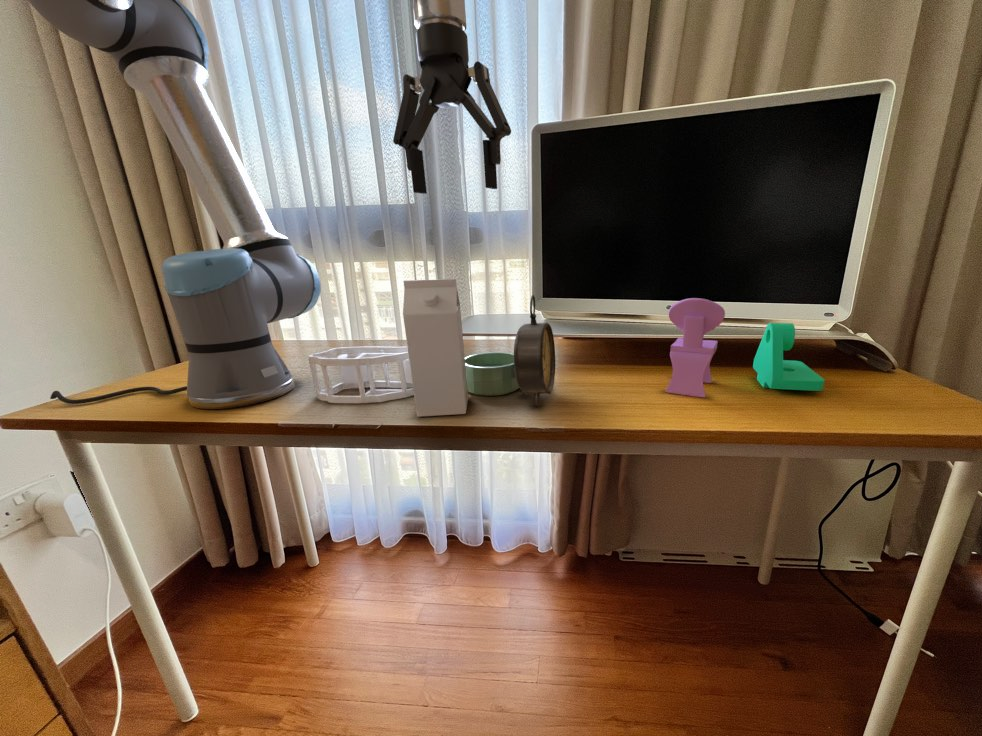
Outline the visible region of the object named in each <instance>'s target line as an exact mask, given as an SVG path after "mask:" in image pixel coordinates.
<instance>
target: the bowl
mask: <svg viewBox="0 0 982 736" xmlns="http://www.w3.org/2000/svg"><path fill="white" fill-rule="evenodd" d="M513 364H514V352H513V353H512V352H505V351H488V352H480V353H474V354H470V355H468V356H465V366H466V378H467V389H468V393H471V394H473V395H477V396H483V397H484V396H485V397H494V396H503V395H508V394H511V393H513V392H515V391H517V390H518V389H520V387H519V385H518V383H517V379H516V375H515V369H514V367H513Z"/></svg>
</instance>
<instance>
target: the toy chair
mask: <svg viewBox="0 0 982 736" xmlns="http://www.w3.org/2000/svg"><path fill="white" fill-rule="evenodd" d="M725 316H726V311H725V309H724V307H723V306H722V305H720V304H718V302H715V301H712V300H709V299H706V298H699V297H691V298H685V299H681V300H679V301H677V302H675V303H673V304H671V306H670V308H669V309H668V318H669V320H670V322H671V323H672V324H673V325H675V326H676V328H678V329H679V330H681V331H682V333H683V336H682V337H677V339H676V340H675V341H674V342H673V343H672V344H671V345H670V352H669V357H670V361H671V367H672V375H671V379H670V381H669V383H668V385H667V387H666V389H665V393H668V394H675V395H684V396H691V397H696V398H697V397H698V398H706V396H707V395H706V390H705V387H704V383H706V384H707V383H708V384H712V383H713V379H712V375H711V369H710V368H711V367H710V366H711V365H710V364H711V361H712V359H713V357H714V355H715V353H716V352H717V349H718V340H711V339H704V337H705V335H706V334H707V333H709V332H711V331H714V330H715V329H716V328H717V327H719V326H720V325H721V324H722V323H723V321H724V319H725Z"/></svg>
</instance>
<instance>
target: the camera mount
mask: <svg viewBox="0 0 982 736" xmlns="http://www.w3.org/2000/svg"><path fill="white" fill-rule="evenodd" d="M795 338H796V328H795V324H794V323H791V322H789V323H788V322H768V323H767V325H766V326H765V330H764V333H763V335H762V338H761V340H760V343H759V346H758V348H757V350H756V353H755V356H754V357H753V364H752V368H753V370H754V371H755V372H756V373H757V375H756V380H757V381H758V383H759V384H760V385H761V387H763V388H764V389H770V390H771V389H772V390H790V391H792V390H793V391H812V392H813V391H814V392H815V391H816V392H821V391H823V389H824V386H825V381H826V380H825V378H823V377H822V376H821V375H819V374H818V373H817V372H815V371H814V370H812V368H810V367H809V366H808V365H807V364H805V363H804V362H803V361H800V360H799V361H798V360H788V359H787V360H786V359H784V351H790V350H792V348H793V347H794V344H795Z"/></svg>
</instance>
